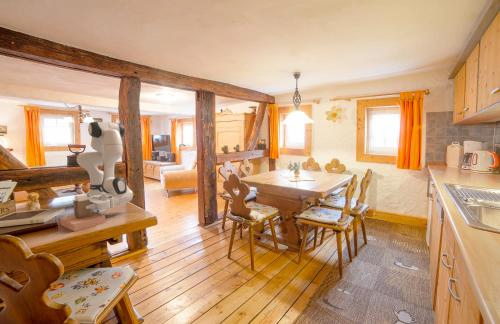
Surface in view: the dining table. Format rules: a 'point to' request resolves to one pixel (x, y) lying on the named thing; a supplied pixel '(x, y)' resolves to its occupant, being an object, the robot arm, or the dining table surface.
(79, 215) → the walnut crate
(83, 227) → the dock
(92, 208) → the light bulb box
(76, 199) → the cargo block
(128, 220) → the dining table surface
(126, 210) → the dining table surface
